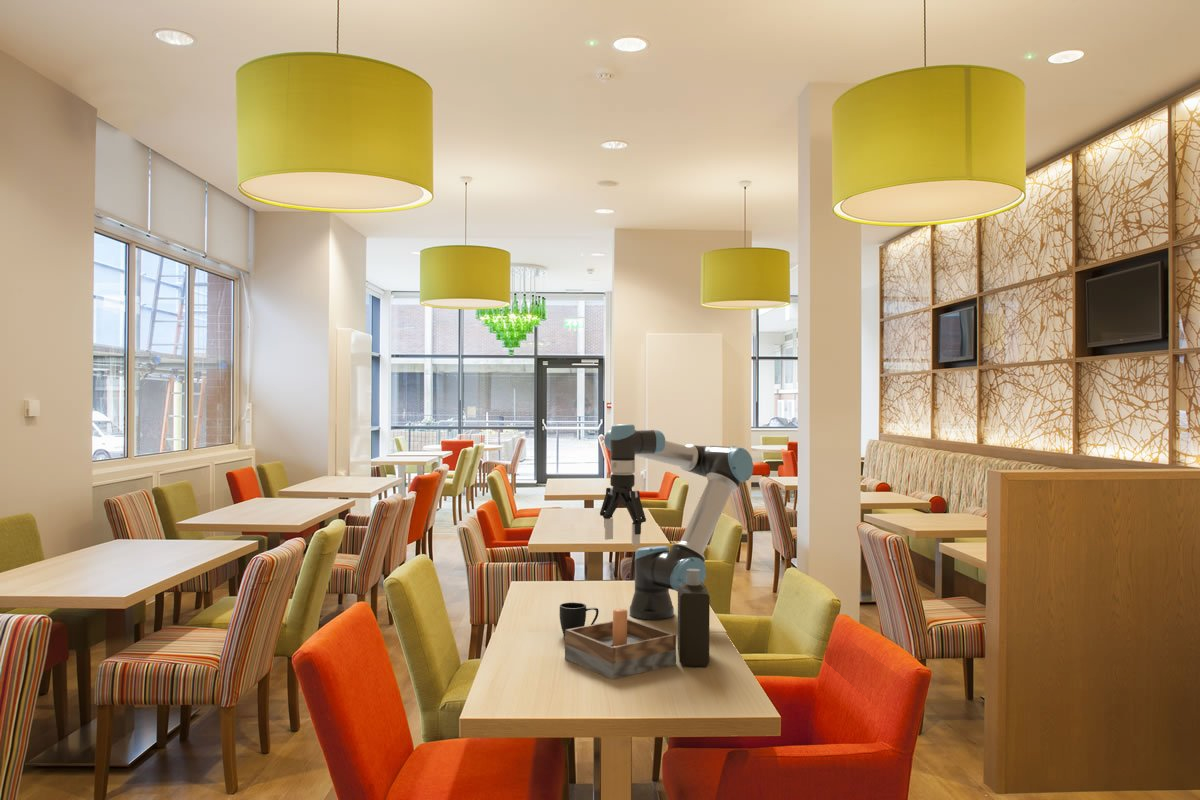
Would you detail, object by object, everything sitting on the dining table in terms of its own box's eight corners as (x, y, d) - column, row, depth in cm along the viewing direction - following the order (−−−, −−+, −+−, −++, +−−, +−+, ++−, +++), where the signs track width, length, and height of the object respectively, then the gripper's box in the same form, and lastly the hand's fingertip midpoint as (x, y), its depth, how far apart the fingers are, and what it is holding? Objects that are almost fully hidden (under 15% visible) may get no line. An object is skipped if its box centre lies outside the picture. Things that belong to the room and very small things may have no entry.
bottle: (680, 667, 224) (680, 575, 224) (677, 650, 240) (677, 564, 240) (709, 668, 223) (710, 575, 223) (704, 650, 239) (705, 564, 239)
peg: (620, 658, 232) (621, 608, 232) (629, 661, 228) (630, 611, 228) (609, 660, 229) (610, 610, 229) (618, 664, 226) (618, 613, 226)
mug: (596, 641, 249) (596, 609, 249) (557, 639, 250) (557, 607, 250) (599, 633, 257) (600, 603, 257) (561, 632, 258) (562, 601, 258)
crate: (626, 645, 244) (626, 618, 244) (675, 664, 226) (676, 634, 226) (564, 658, 231) (565, 629, 231) (612, 679, 213) (612, 648, 213)
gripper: (589, 471, 264) (588, 537, 264) (638, 477, 244) (638, 548, 244) (608, 470, 269) (607, 535, 268) (657, 475, 248) (657, 546, 248)
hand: (622, 542), depth 256 cm, fingers open, 13 cm apart
